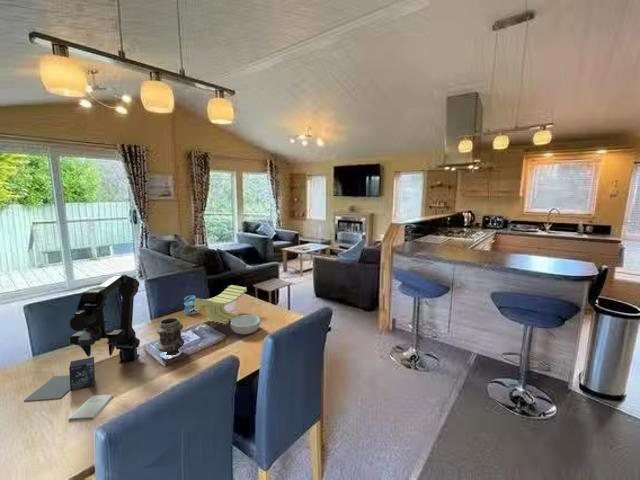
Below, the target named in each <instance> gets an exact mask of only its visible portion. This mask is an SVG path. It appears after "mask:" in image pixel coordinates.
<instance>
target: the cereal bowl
mask: <svg viewBox="0 0 640 480" xmlns="http://www.w3.org/2000/svg"><path fill="white" fill-rule="evenodd" d="M260 325H261V318H260V317H259V316H257V315H254V314H243V315H238V317H235V318H234V319H232V320H231V322H230V328H231V329H232V331H233V332H234V333H236V334H238V335H239V334H240V335H243V336H244V335H245V336H246V335H250V334H252V333H254V332H256V331H257V330H258V329H259V328H260Z"/></svg>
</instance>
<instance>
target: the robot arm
mask: <svg viewBox="0 0 640 480" xmlns="http://www.w3.org/2000/svg"><path fill="white" fill-rule="evenodd" d="M139 288H140V281H139V280H138V279H137V278H134V277H131V276H128V275H127V274H125V273H116V274H113V275H112V277H110V278H109V279H107V280H106V281H105V282H103V283H102V284H100V285H98V286H97V287H93V288H89V289H86V290H85V291H84V292H83V293H82V294H81V295H80V296H81V297H80V299H79V302H78V304H77V308H76V311H78V312H75V313H74V314H73V315H74V316H73V317H72V318H71V319H70V320H69V327H70V328H71V329H72V330H74V331H76V332H75V333H74V334H72V335H70V337H69V339H68V341H69V344H70V345H71V344H74V346H79V347H80V348H81V349H82V350H83V351H84V354H85V355H86V356H87V358H90V356H91V353H92V346H94V345H95V344H96V342H99V341H100V340H101V339H107V342H106V344H107V346H108V355H109V356H112V355H113V353H114V350H115V349H116V350H119V353H118V354H119V361H118V362H119V363H134V362H135V360H136V359H137V358H138V357H140V353H139V354H138V348H139V347H140V342H141V341H140V338H138V337H136V330H135V329H134V328H133V313H134V303H135V302H134V300H135V296H136V295H137V293H138V292H139ZM115 289H118V294H119V295H120V297H121V306H120V320H119V322H120V323H119V329H114V330H113V331H112V332H108V331H109V330H108V328H106V323H107V322H108V320H107V319H106V318H105V309H104V307H106V306H107V303H105V302H106V301H107V300H108V297H109V296H108V295H109V294H111V293H112V292H113V291H114V290H115ZM107 332H108V333H107Z"/></svg>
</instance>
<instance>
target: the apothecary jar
mask: <svg viewBox="0 0 640 480" xmlns="http://www.w3.org/2000/svg"><path fill="white" fill-rule="evenodd" d="M179 320H180V319H179V318H178V317H168V318H167V317H166V318H163V319H162V320H160V321H159V325H158V326H157V327H156V330H155V331H156V333H157V334H158V335H159V342H158V343H157V350H158V351H160V352H162V353H164V352H167V354H166V355H176V354H177V353H179V351H178V349H181V348H182V347H183V346H184V344H185V340H184V338H183V337H182V334H181V333H182V332H181V331H182V329H183V323H182V322H180V321H179Z"/></svg>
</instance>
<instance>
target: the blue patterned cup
mask: <svg viewBox="0 0 640 480" xmlns="http://www.w3.org/2000/svg"><path fill="white" fill-rule="evenodd" d="M196 298H197V297H196V296H195V295H193V294H191V295H187V296H185V297H184V298H183V299H184V302H183V305H184V311H183V314H184V315H185V316H188V315H189V316H190V314H191V315H196V313H197V314H200V310H196V309H194V308H192V307H193V306H194V300H195V299H196ZM191 308H192V309H191ZM193 310H194V311H193ZM191 311H192V312H191ZM196 311H197V312H196Z"/></svg>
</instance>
